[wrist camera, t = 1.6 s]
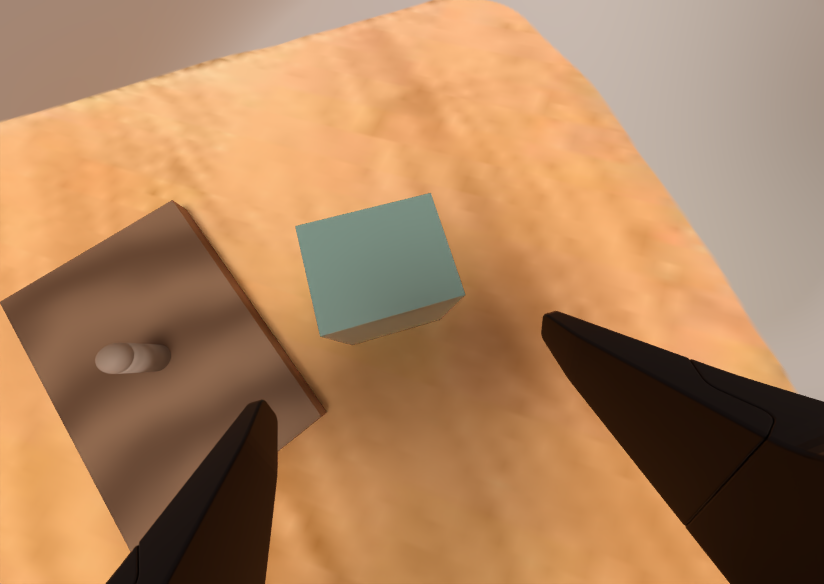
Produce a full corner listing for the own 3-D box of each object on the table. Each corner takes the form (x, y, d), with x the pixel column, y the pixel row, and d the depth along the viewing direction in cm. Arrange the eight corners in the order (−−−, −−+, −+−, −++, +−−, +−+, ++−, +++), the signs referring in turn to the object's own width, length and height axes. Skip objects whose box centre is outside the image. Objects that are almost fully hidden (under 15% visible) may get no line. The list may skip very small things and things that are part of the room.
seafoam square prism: (440, 319, 23) (465, 294, 14) (352, 345, 22) (320, 336, 13) (419, 254, 24) (430, 193, 15) (335, 276, 23) (295, 226, 14)
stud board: (326, 412, 21) (302, 429, 16) (157, 548, 19) (66, 619, 13) (186, 209, 24) (128, 169, 19) (26, 305, 22) (-88, 289, 16)
